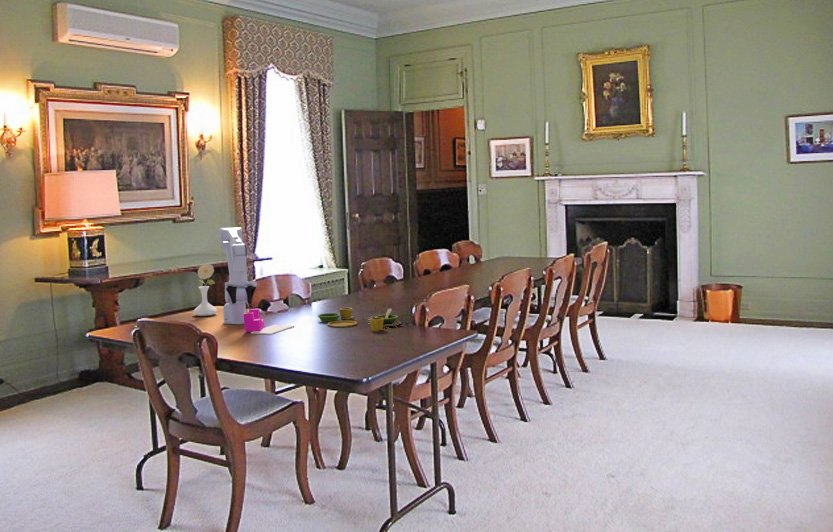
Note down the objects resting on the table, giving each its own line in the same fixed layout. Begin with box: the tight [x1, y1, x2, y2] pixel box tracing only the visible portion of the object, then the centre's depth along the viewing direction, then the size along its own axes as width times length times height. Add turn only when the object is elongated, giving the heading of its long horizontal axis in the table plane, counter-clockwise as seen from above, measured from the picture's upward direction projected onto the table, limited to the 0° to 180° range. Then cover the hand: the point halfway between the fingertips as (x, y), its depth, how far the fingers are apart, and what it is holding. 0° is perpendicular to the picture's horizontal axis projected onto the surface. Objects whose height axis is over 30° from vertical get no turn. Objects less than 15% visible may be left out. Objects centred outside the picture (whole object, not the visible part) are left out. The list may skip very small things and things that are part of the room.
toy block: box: [243, 308, 265, 333], centre depth 347 cm, size 15×6×8 cm, turn 0°
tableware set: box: [317, 307, 402, 332], centre depth 354 cm, size 41×28×6 cm
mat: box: [250, 324, 295, 336], centre depth 344 cm, size 10×18×1 cm, turn 157°
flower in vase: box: [192, 263, 218, 317], centre depth 385 cm, size 13×11×25 cm
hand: (241, 303), depth 348 cm, fingers open, 7 cm apart
